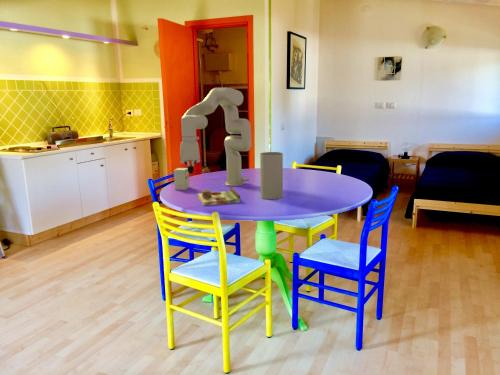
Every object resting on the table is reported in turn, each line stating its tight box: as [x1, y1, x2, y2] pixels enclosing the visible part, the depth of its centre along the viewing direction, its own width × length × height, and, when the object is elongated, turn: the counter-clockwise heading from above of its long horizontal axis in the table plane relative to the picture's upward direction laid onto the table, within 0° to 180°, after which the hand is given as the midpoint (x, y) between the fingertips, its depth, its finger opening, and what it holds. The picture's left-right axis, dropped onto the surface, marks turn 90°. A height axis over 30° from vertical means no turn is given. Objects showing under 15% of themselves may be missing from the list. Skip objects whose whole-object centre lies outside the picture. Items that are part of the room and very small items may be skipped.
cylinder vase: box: [259, 151, 284, 201], centre depth 233 cm, size 12×12×25 cm
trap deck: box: [197, 187, 241, 207], centre depth 232 cm, size 20×20×4 cm
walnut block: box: [201, 189, 212, 199], centre depth 230 cm, size 4×4×4 cm
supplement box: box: [173, 167, 190, 191], centre depth 259 cm, size 7×7×13 cm
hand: (190, 173), depth 224 cm, fingers closed
